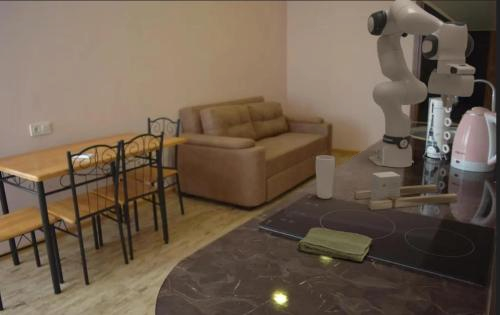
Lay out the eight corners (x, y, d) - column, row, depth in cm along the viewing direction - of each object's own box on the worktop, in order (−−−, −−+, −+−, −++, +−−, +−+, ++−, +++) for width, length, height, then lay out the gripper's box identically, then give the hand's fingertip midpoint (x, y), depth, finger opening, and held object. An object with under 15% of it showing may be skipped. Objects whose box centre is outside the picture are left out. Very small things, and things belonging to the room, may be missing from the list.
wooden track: (354, 197, 145) (354, 189, 144) (432, 190, 150) (433, 182, 150) (371, 210, 132) (371, 201, 131) (456, 201, 138) (457, 192, 137)
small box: (390, 199, 142) (392, 171, 139) (399, 204, 137) (401, 175, 134) (370, 201, 140) (371, 172, 138) (378, 206, 135) (379, 177, 133)
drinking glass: (333, 200, 142) (335, 159, 139) (314, 199, 144) (315, 159, 140) (333, 194, 149) (334, 155, 145) (315, 193, 150) (316, 155, 146)
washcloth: (364, 266, 97) (364, 254, 96) (295, 252, 105) (295, 241, 104) (373, 244, 109) (373, 233, 108) (310, 233, 116) (311, 223, 115)
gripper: (424, 68, 152) (422, 105, 155) (462, 69, 132) (458, 110, 135) (439, 68, 153) (436, 104, 156) (479, 68, 133) (474, 110, 136)
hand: (447, 107), depth 145 cm, fingers closed
